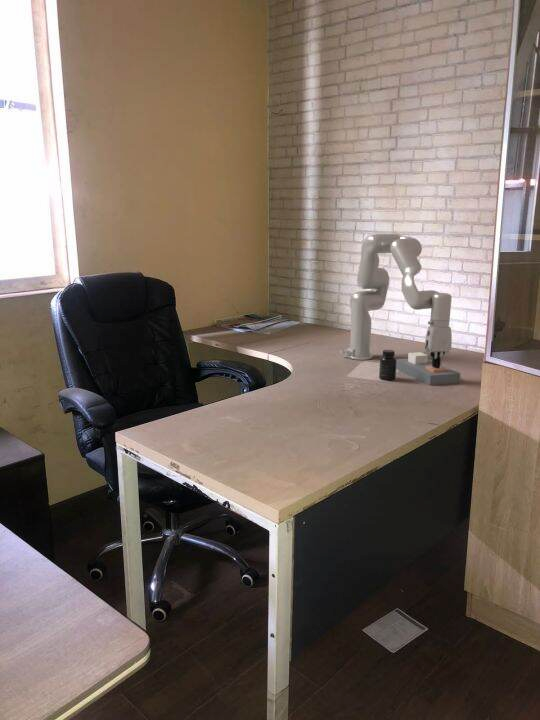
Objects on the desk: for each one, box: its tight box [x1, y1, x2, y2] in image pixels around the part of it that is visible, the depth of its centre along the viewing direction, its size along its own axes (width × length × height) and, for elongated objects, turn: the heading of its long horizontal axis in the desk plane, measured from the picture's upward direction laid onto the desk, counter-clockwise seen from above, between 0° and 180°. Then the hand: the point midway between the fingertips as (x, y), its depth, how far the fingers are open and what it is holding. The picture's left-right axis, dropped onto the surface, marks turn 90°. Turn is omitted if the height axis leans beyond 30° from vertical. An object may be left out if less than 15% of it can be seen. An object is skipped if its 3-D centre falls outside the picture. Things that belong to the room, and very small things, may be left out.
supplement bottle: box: [378, 349, 397, 382], centre depth 240 cm, size 7×7×12 cm
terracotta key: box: [425, 366, 446, 373], centre depth 240 cm, size 6×6×5 cm
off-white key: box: [407, 351, 429, 364], centre depth 253 cm, size 6×6×5 cm
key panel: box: [396, 358, 461, 386], centre depth 247 cm, size 14×28×4 cm, turn 18°
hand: (435, 367), depth 240 cm, fingers closed
